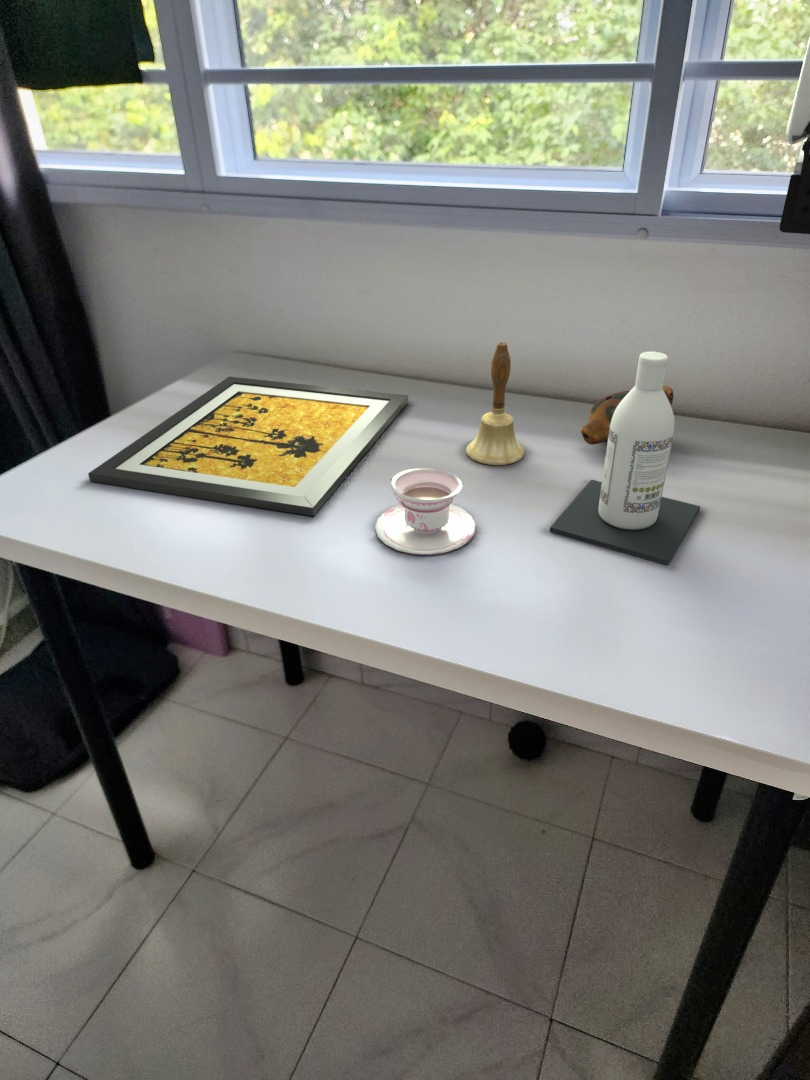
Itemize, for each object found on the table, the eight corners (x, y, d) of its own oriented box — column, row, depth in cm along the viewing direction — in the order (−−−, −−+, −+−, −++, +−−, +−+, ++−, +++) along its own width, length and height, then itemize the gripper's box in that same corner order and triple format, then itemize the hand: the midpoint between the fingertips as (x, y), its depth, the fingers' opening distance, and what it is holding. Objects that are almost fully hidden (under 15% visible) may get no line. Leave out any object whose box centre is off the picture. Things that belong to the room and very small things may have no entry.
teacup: (493, 520, 91) (495, 475, 88) (442, 568, 83) (443, 520, 80) (410, 495, 97) (410, 452, 94) (355, 537, 89) (352, 491, 85)
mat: (699, 510, 93) (700, 506, 92) (667, 565, 83) (668, 560, 82) (590, 483, 99) (591, 479, 99) (549, 531, 89) (549, 527, 89)
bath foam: (667, 516, 90) (700, 355, 80) (636, 538, 86) (666, 371, 75) (618, 496, 95) (642, 340, 84) (586, 516, 91) (607, 355, 80)
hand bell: (536, 451, 107) (545, 342, 99) (500, 471, 102) (507, 357, 94) (490, 435, 112) (495, 329, 104) (454, 453, 107) (456, 344, 99)
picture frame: (228, 376, 131) (408, 395, 123) (229, 382, 132) (408, 401, 123) (87, 473, 101) (313, 508, 92) (89, 481, 102) (314, 516, 93)
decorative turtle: (687, 442, 109) (697, 391, 104) (610, 475, 103) (617, 423, 98) (638, 416, 116) (645, 368, 111) (562, 446, 110) (567, 396, 105)
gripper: (829, -25, 60) (778, 206, 69) (797, -48, 48) (739, 237, 57) (939, -34, 57) (870, 211, 66) (935, -60, 44) (850, 245, 53)
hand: (809, 223), depth 61 cm, fingers open, 9 cm apart
